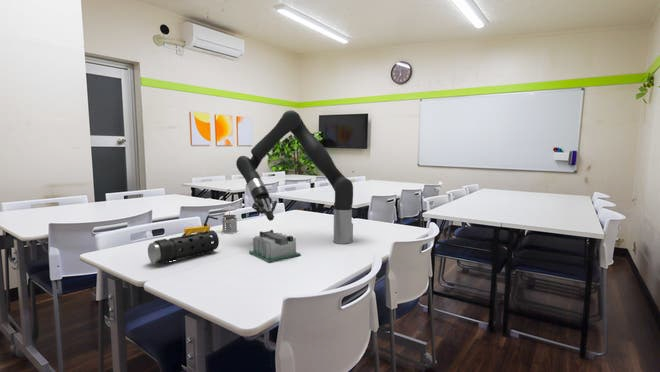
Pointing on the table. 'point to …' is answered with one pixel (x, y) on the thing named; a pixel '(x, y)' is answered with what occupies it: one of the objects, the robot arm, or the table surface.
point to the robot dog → (198, 228)
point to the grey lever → (273, 235)
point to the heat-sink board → (273, 248)
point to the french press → (229, 220)
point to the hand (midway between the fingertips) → (271, 219)
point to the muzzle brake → (182, 246)
